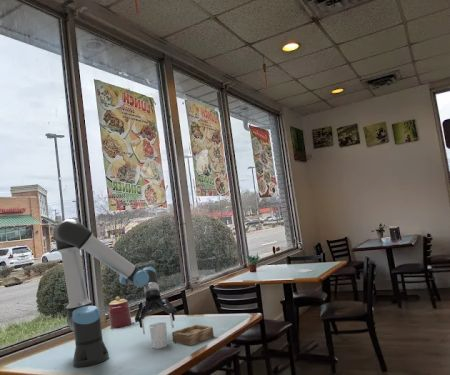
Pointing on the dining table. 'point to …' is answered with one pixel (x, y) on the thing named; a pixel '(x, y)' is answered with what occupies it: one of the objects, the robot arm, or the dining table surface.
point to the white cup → (158, 335)
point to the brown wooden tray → (192, 334)
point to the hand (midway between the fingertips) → (158, 329)
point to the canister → (119, 313)
